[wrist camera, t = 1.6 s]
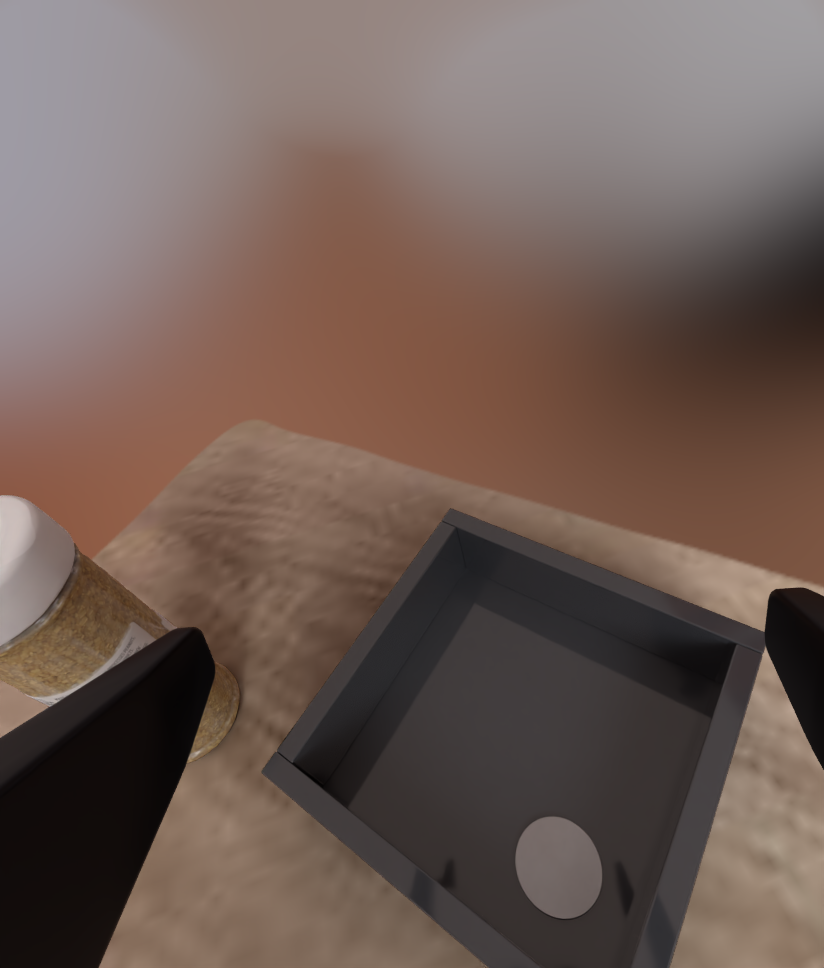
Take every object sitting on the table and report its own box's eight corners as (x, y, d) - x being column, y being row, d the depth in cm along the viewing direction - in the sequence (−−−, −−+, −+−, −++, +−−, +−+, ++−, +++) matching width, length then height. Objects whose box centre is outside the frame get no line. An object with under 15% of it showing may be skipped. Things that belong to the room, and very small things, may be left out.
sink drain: (581, 942, 17) (581, 942, 17) (500, 880, 18) (499, 880, 18) (616, 850, 18) (616, 849, 18) (537, 799, 19) (537, 798, 19)
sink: (618, 1065, 15) (633, 1091, 12) (302, 797, 22) (259, 772, 18) (739, 679, 21) (769, 633, 18) (462, 557, 27) (450, 507, 24)
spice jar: (230, 648, 27) (34, 465, 17) (253, 733, 24) (30, 572, 14) (141, 696, 26) (-119, 535, 16) (154, 790, 23) (-159, 664, 13)
